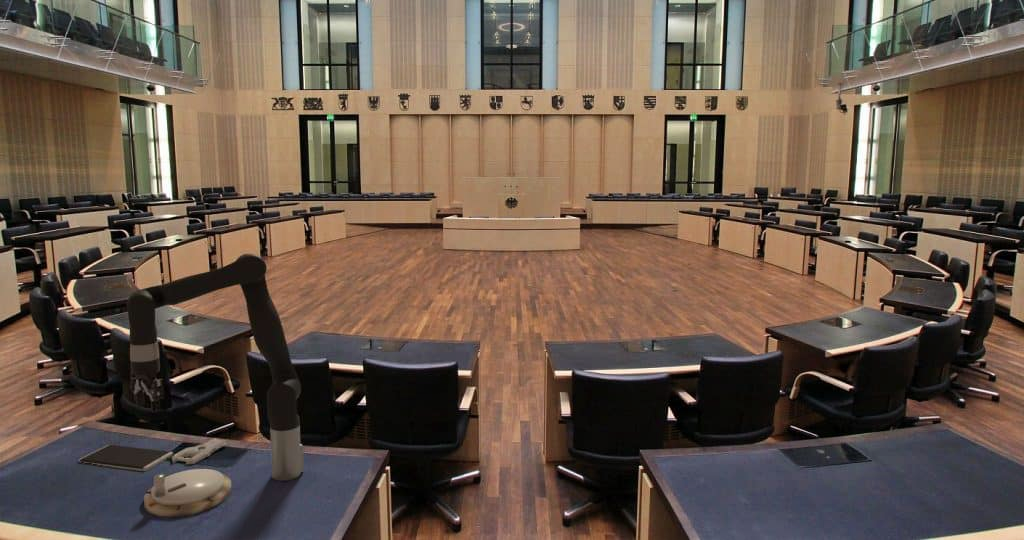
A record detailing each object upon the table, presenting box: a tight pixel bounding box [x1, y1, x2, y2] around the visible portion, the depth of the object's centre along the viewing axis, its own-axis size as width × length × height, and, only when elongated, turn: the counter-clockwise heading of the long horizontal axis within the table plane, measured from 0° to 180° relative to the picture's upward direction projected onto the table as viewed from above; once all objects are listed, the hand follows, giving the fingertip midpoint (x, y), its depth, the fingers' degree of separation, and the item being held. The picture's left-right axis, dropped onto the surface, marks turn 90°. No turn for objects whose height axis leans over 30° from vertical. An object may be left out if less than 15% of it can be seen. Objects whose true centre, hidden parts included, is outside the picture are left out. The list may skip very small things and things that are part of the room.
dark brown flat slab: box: [78, 444, 174, 472], centre depth 217 cm, size 13×27×2 cm, turn 78°
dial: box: [151, 468, 224, 506], centre depth 193 cm, size 20×20×8 cm
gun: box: [171, 437, 228, 465], centre depth 222 cm, size 18×4×10 cm
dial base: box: [143, 473, 232, 518], centre depth 194 cm, size 24×24×2 cm
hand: (148, 408), depth 189 cm, fingers open, 8 cm apart
